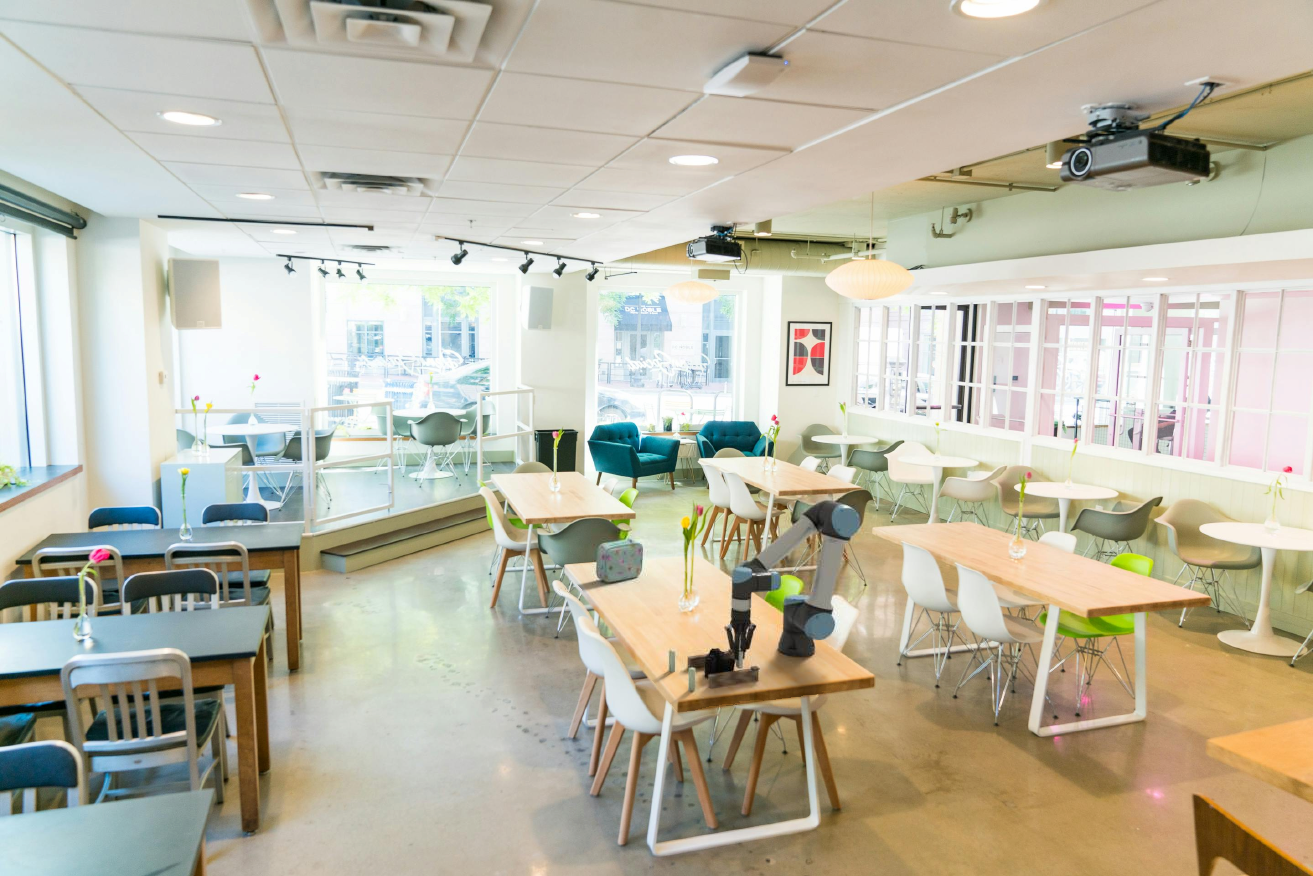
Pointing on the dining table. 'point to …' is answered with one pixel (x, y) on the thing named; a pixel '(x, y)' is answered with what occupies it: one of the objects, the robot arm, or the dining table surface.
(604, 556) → the lunch box
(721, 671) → the film camera
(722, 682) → the chute
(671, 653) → the posts
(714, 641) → the dining table surface
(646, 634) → the dining table surface
